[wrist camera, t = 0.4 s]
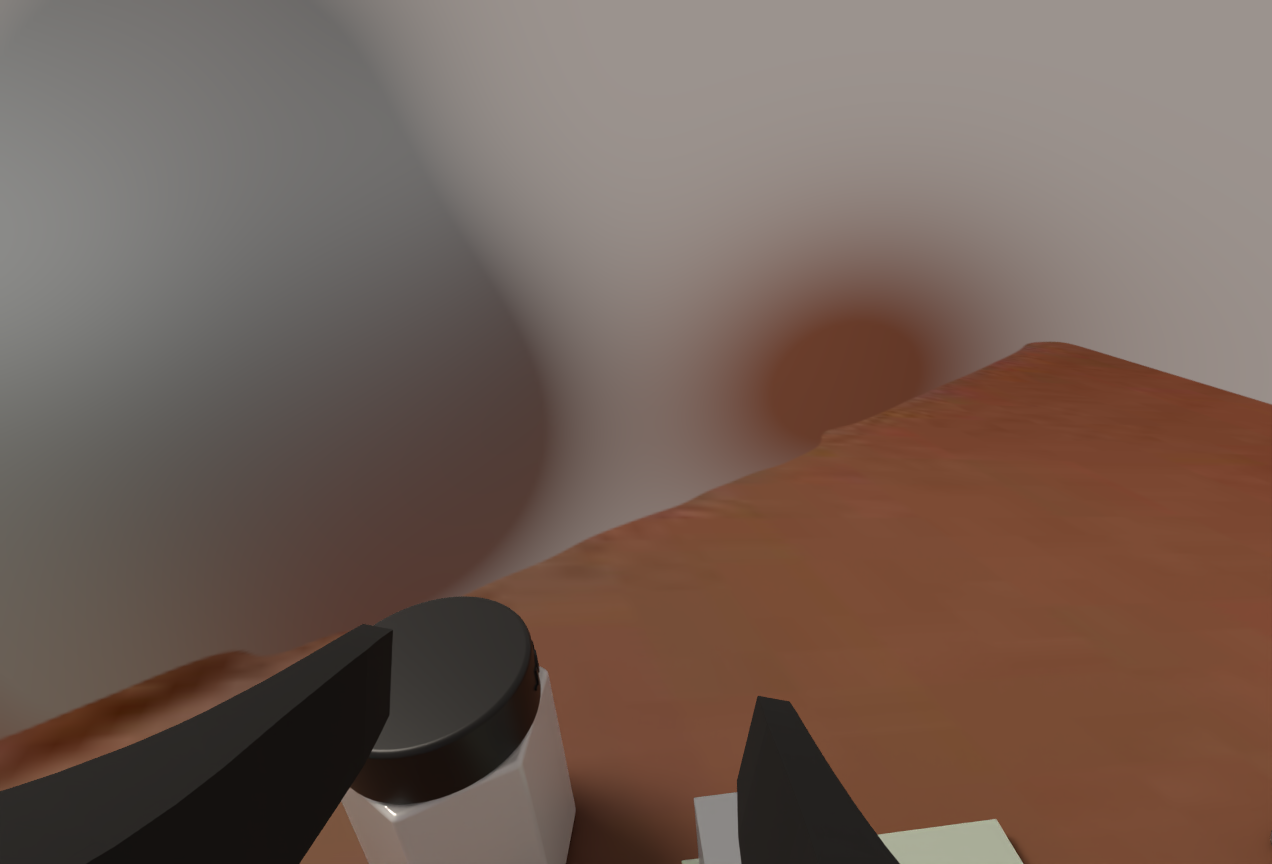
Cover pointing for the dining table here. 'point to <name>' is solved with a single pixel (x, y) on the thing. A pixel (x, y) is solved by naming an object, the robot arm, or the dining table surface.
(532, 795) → the jar
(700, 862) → the grey sharp-edged cube
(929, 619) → the dining table surface
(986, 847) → the board
